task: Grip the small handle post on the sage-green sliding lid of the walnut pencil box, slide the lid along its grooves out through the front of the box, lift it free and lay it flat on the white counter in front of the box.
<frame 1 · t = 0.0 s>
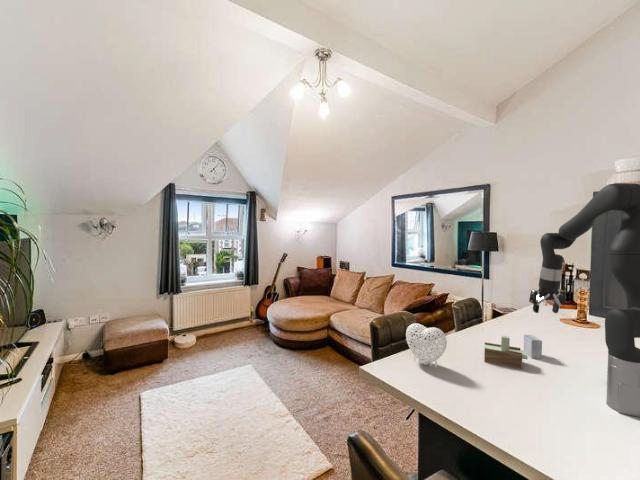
hand: (545, 312, 135), 22 cm above the table, tool pointing down, fingers open, 8 cm apart
box: (502, 361, 135), on the table
decorative heart: (425, 364, 132), on the table
lid: (505, 353, 134), point 4 cm above the table, touching box
medicine box: (532, 355, 142), on the table
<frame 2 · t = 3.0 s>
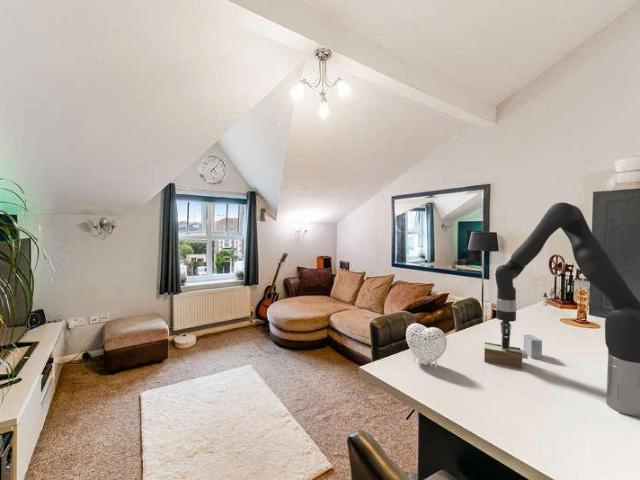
hand: (505, 346, 134), 7 cm above the table, tool pointing down, fingers closed on lid, 2 cm apart
lid: (505, 352, 134), point 4 cm above the table, touching box, gripper
everything else where it was.
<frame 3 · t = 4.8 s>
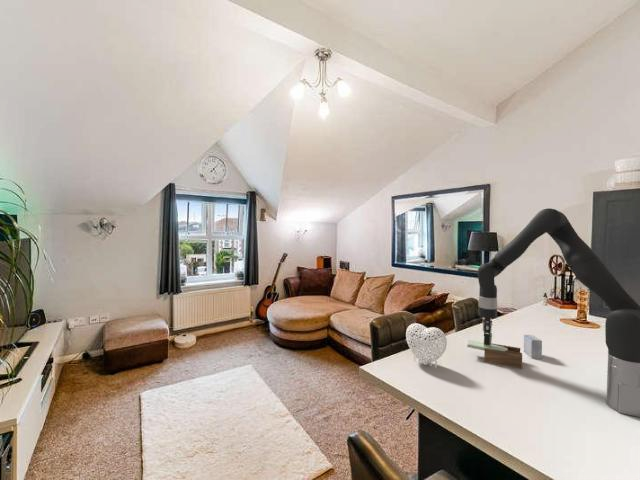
hand: (486, 343, 138), 7 cm above the table, tool pointing down, fingers closed on lid, 2 cm apart
lid: (486, 348, 138), point 5 cm above the table, touching gripper
everything else where it was.
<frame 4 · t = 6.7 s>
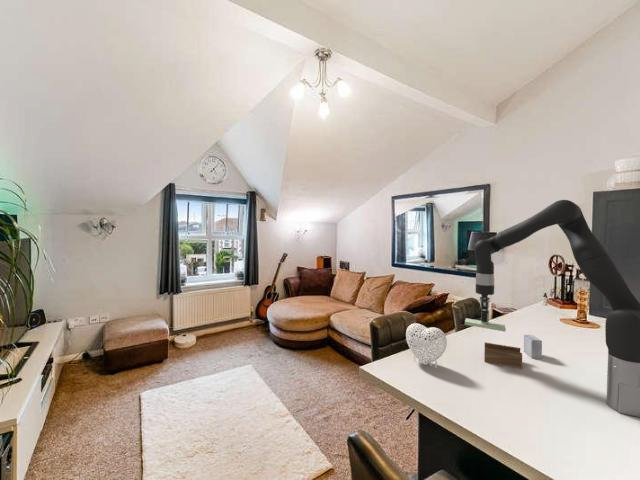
hand: (484, 320, 137), 18 cm above the table, tool pointing down, fingers closed on lid, 2 cm apart
lid: (484, 326, 137), point 15 cm above the table, touching gripper
everything else where it was.
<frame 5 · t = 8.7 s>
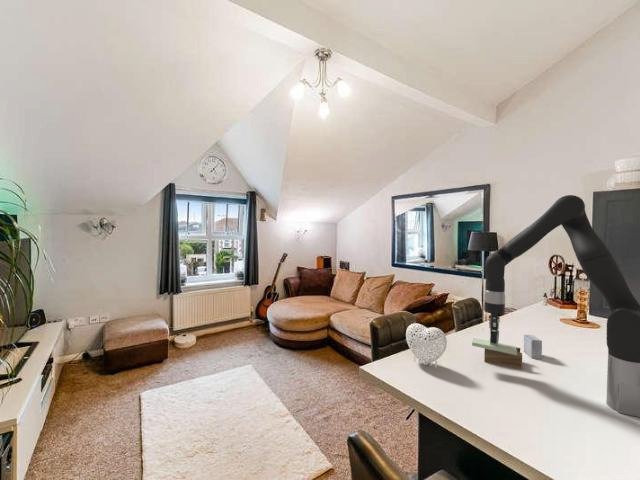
hand: (493, 341, 126), 12 cm above the table, tool pointing down, fingers closed on lid, 2 cm apart
lid: (493, 347, 126), point 10 cm above the table, touching gripper
everything else where it was.
when the fingers open (3 cm above the table, at t = 10.5 s): lid drops 1 cm, on the table.
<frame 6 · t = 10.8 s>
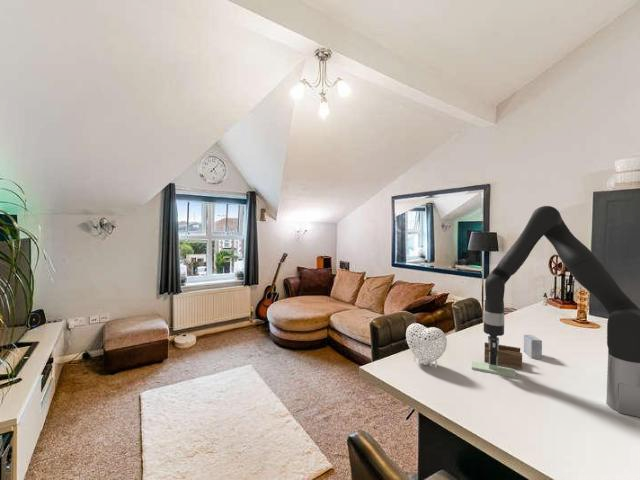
hand: (492, 361, 126), 4 cm above the table, tool pointing down, fingers open, 5 cm apart
lid: (493, 371, 126), on the table
everything else where it was.
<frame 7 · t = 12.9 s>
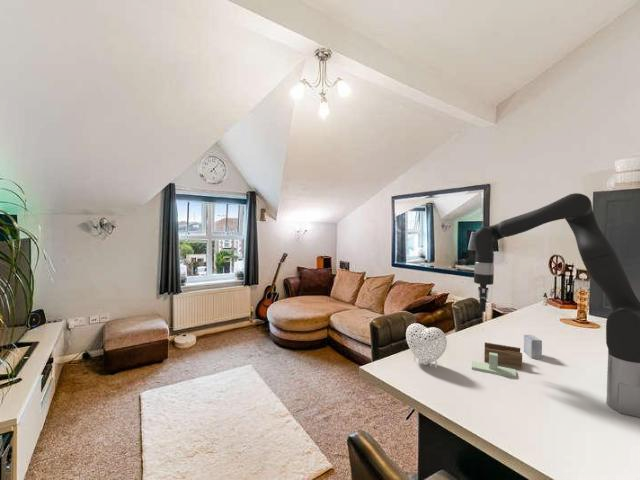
hand: (482, 309, 132), 24 cm above the table, tool pointing down, fingers open, 8 cm apart
nothing on the table moved.
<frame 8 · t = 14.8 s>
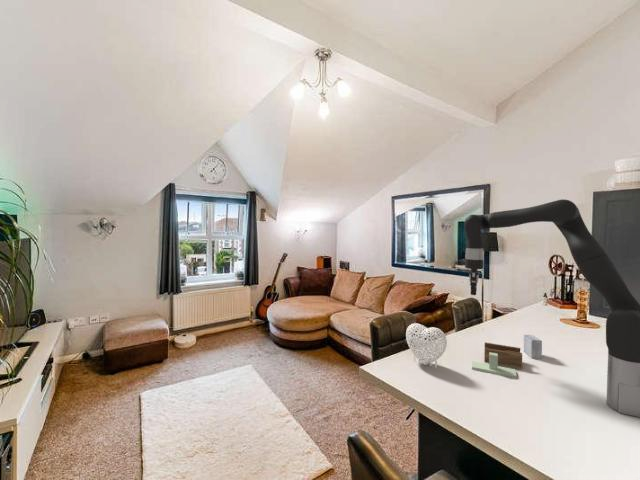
hand: (473, 293, 138), 30 cm above the table, tool pointing down, fingers open, 8 cm apart
nothing on the table moved.
at the end: lid on the table; lid inside the target area (0.5 cm from its centre), on the table; the gripper is holding nothing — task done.
